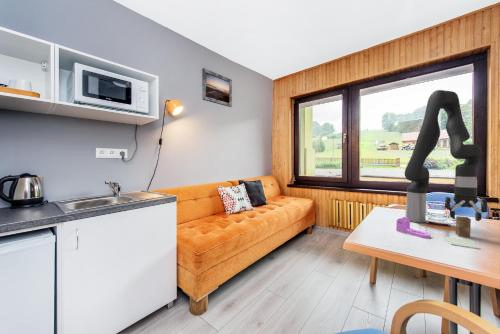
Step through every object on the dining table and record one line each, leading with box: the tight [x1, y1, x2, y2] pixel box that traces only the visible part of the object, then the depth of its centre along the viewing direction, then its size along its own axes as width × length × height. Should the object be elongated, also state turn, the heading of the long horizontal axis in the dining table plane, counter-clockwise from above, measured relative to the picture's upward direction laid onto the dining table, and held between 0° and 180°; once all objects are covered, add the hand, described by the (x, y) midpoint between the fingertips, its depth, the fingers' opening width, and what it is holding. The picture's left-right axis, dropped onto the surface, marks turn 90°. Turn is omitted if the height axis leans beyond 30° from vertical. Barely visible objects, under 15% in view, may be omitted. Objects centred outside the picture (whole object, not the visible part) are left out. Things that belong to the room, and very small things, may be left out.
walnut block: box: [455, 215, 472, 239], centre depth 101 cm, size 4×4×9 cm
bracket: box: [395, 216, 431, 239], centre depth 104 cm, size 13×6×7 cm, turn 30°
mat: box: [443, 236, 481, 250], centre depth 92 cm, size 9×10×1 cm
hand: (465, 219), depth 100 cm, fingers open, 8 cm apart
